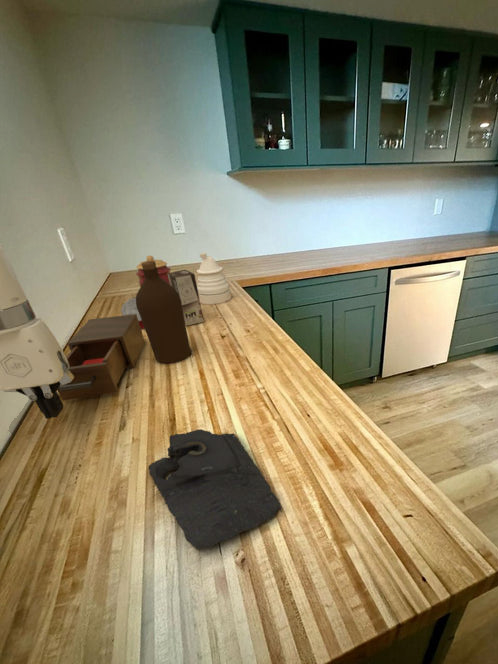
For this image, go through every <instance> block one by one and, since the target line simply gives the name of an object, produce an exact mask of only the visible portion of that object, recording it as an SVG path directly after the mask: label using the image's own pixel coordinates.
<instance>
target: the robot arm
mask: <svg viewBox="0 0 498 664" xmlns="http://www.w3.org/2000/svg"><path fill="white" fill-rule="evenodd" d="M28 299H29V298H28V297H27V295H26V293H25V291H24V289H23V286H22V285H21V282H20V280H19V278H18V276H17V275H16V273H15V270H14V268H13V265H12V264H11V262H10V259H9V257H8V256H7V253H6V251H5V249H4V247H3V245H2V243H1V242H0V391H3V392H4V393H19V394H21V395H23V396H26V397H27V399H28V400H30V401H33V402H35V404H36V405H37V408H38V409H39V411H40V413H42V414H43V416H44V417H45V419H47V420H49V419H51V418H53V419H54V418H58V416H59V415H60V414H61V413H62V411H63V409H64V403H63V400H62V398H61V396H60V394H59V392H58V388H59V387H60V386H61V385H65V384H67V383H70V382H71V381H72V380H73V379H74V376H73V374H72V373H71V372H70V371H69V368H70V366H69V363H68V360H67V358H66V356H67V355H66V354H65V352H64V350H63V348H62V346H61V345H60V343H59V342H58V340H57V338H56V337H55V335H54V333H53V332H52V331H51V329H50V327H49V326H48V325H47V324H46V323H45V321H44V320H43V319H42V318H40V317H39V318H38V317H37V316H36V314H35V312H34V309H33V308H32V305H31V304H30V303H31V302H30V301H29V300H28Z"/></svg>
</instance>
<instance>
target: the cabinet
mask: <svg viewBox="0 0 498 664" xmlns="http://www.w3.org/2000/svg"><path fill="white" fill-rule="evenodd" d="M112 340H121V343H122V346H123V349H124V352H125V355H126V357H127V360H128V363H127V365H126V367H125V369H124V370H131V369H134V368H135V366H136V364H137V362H138V359H139V357H140V355H141V353H142V350H143V348H144V346H145V344H146V341H145V337H144V335H143V332H142V329H141V328H140V324H139V321H138V318H137V315H136V314H132V315H115V316H107V317H97V318H90V319H88V320H87V322H86V323H84V324H83V326H82V327H81V328H80V329H79V330H78V331H77V332H76V333H75V334H74V335H73V336H72V338H71V339H70V340H69V341H67V346H68V348H69V350H70V352H71V351H72V349H73V348H74V347H75V346H76V345H80V344H88V343H96V342H104V341H112Z"/></svg>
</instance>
